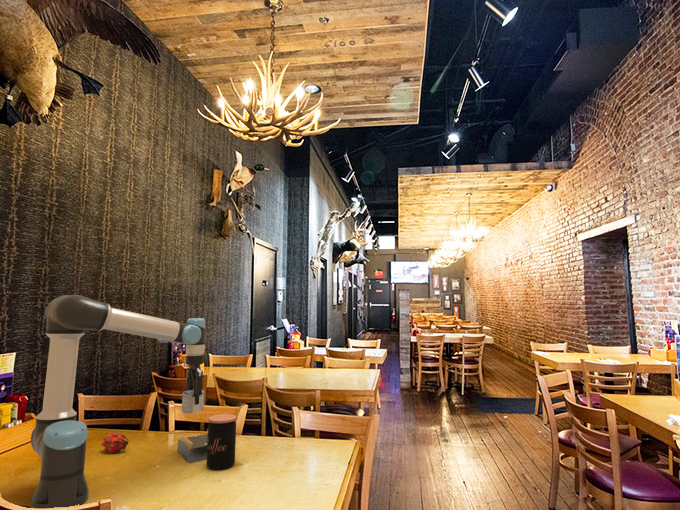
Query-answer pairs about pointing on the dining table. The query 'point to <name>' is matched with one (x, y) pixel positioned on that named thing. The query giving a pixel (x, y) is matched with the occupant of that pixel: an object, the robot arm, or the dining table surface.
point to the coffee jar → (221, 441)
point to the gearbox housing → (193, 447)
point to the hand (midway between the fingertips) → (193, 410)
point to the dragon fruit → (115, 442)
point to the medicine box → (190, 401)
